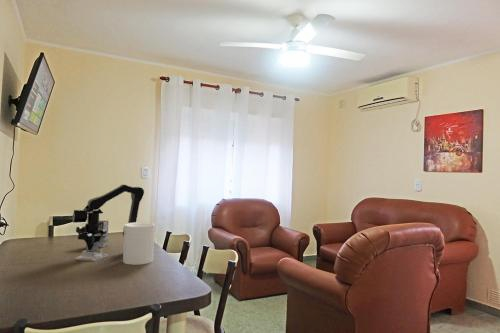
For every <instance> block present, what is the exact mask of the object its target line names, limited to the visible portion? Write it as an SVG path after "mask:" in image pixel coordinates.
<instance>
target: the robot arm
mask: <svg viewBox="0 0 500 333" xmlns="http://www.w3.org/2000/svg"><path fill="white" fill-rule="evenodd" d="M125 192H126V193H129V194H130V199H131V205H130V210H129V216H128V222H127V223H133V222H137V220H138V219H137V218H138V214H139V209H140V203H141V201H142V199H143V196H144V194H145V190H144V188H143V187H141V186H134V187H133V186H129V185H127V184H120V185H119V186H117V187H116V188H114V189H112V190H110V191H108V192H107V193H104V194H103V195H100V196H96V197H93V198H91V199H89V200H88V201H87V204H86V206H85V207H84V208H83V209H80V210H79V209H74V210H73V214H72V216H71V218H72V223H73V224H74V223H76V224H77V223H85V222H86V221H87V223H85V226H82V225H79V226H76V228H75V233H77V240H82V241H84V242H85V245H86V244H87V247H88V250H91V248H92V245H93V242H94V241H95V242H98V243H99V241H100V240H101V238H102V236H103V235H104V234H107V230H106V229H99V225H100V223H99V220H100V214H103V213H104V212H103V211H102V210H101V209H100V208H102V207H103V206H104V205H105V204H106V203H107V202H109V201H110V200H112V199H115V198H116V197H118V196H119V195H121V194H123V193H125ZM122 230H123V231H122V235H123V236H122V237H123V238H124V229H122ZM100 233H101V234H103V235H101V234H100Z"/></svg>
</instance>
